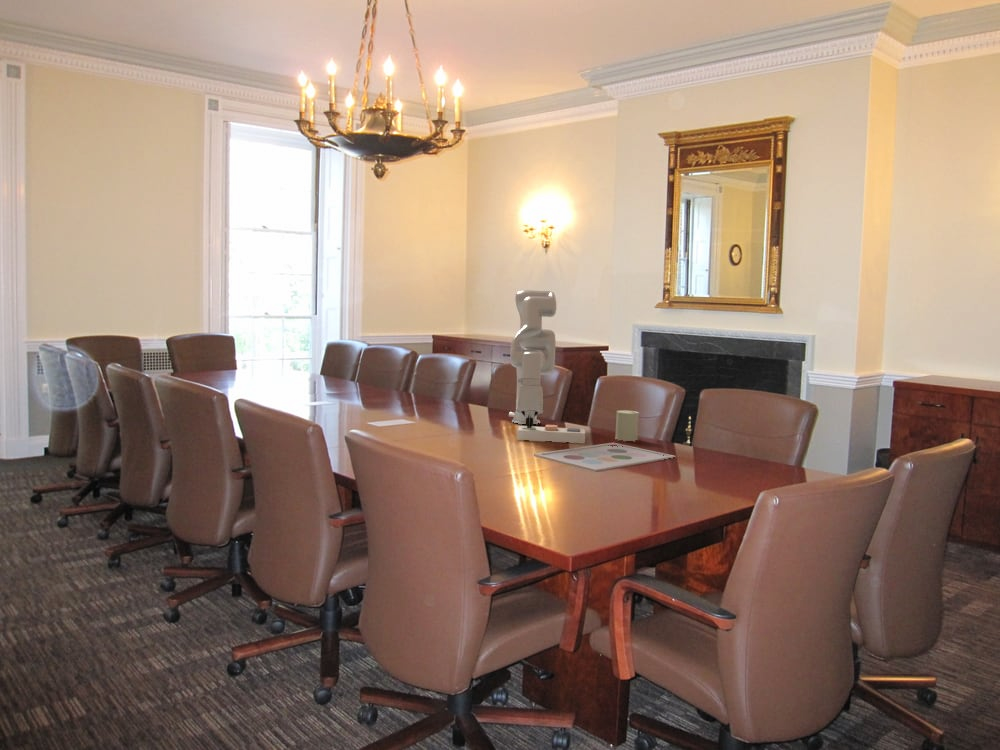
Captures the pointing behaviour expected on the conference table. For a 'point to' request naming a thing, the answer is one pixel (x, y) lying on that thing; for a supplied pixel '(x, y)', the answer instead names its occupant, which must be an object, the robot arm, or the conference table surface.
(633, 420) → the can
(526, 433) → the button strip
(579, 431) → the charcoal button
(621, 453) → the dotted sorting mat
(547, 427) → the terracotta button
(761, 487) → the conference table surface
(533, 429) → the sage button
